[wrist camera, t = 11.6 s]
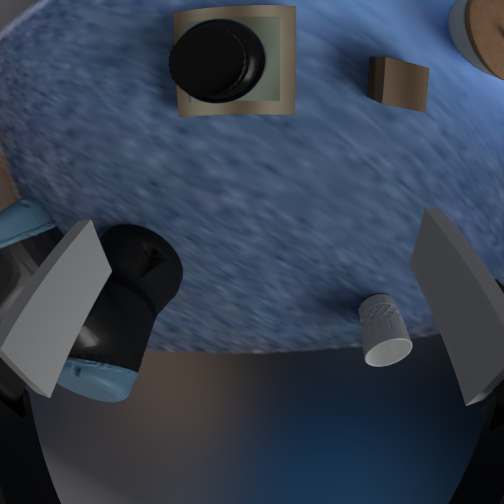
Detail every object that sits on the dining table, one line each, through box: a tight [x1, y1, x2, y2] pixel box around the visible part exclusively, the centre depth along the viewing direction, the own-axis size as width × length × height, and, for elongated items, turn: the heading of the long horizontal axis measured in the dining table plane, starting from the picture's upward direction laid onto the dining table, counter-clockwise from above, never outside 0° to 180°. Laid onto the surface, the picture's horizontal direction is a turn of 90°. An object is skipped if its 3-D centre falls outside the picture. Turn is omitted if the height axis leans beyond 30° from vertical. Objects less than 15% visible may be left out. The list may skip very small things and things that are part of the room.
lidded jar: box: [448, 0, 504, 80], centre depth 15 cm, size 11×11×9 cm
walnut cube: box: [368, 57, 429, 113], centre depth 24 cm, size 5×5×5 cm
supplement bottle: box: [168, 19, 267, 104], centre depth 19 cm, size 7×7×12 cm
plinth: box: [173, 5, 296, 117], centre depth 25 cm, size 12×12×3 cm
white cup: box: [358, 294, 412, 366], centre depth 43 cm, size 8×8×10 cm
